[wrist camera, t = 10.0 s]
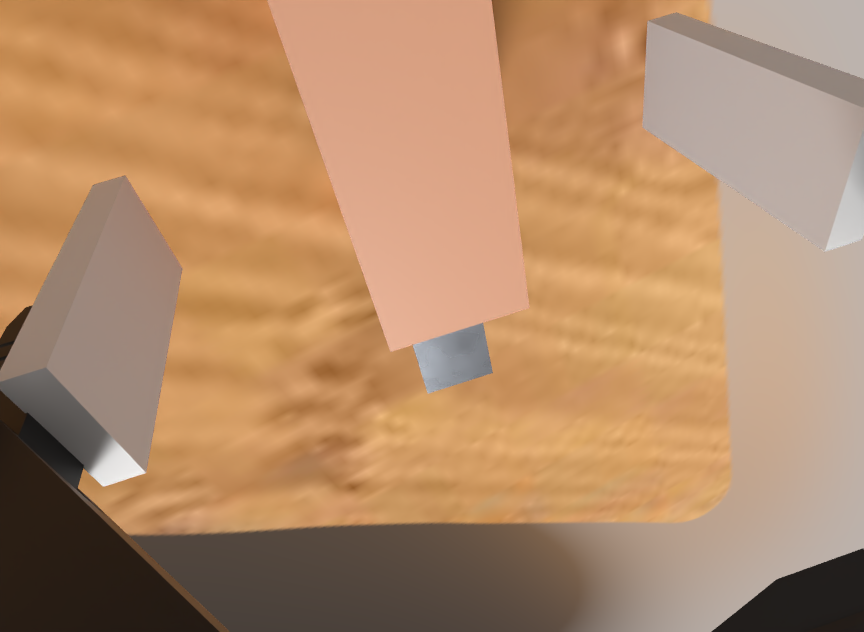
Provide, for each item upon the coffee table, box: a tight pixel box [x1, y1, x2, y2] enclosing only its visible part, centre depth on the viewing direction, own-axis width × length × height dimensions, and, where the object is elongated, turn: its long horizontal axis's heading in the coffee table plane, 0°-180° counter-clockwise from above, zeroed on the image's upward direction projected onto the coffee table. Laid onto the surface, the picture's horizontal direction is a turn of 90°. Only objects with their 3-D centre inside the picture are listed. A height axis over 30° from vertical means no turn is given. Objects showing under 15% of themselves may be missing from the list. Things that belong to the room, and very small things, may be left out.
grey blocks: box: [413, 323, 493, 393], centre depth 19 cm, size 24×3×4 cm, turn 12°
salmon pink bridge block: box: [267, 0, 529, 352], centre depth 17 cm, size 10×4×8 cm, turn 12°
